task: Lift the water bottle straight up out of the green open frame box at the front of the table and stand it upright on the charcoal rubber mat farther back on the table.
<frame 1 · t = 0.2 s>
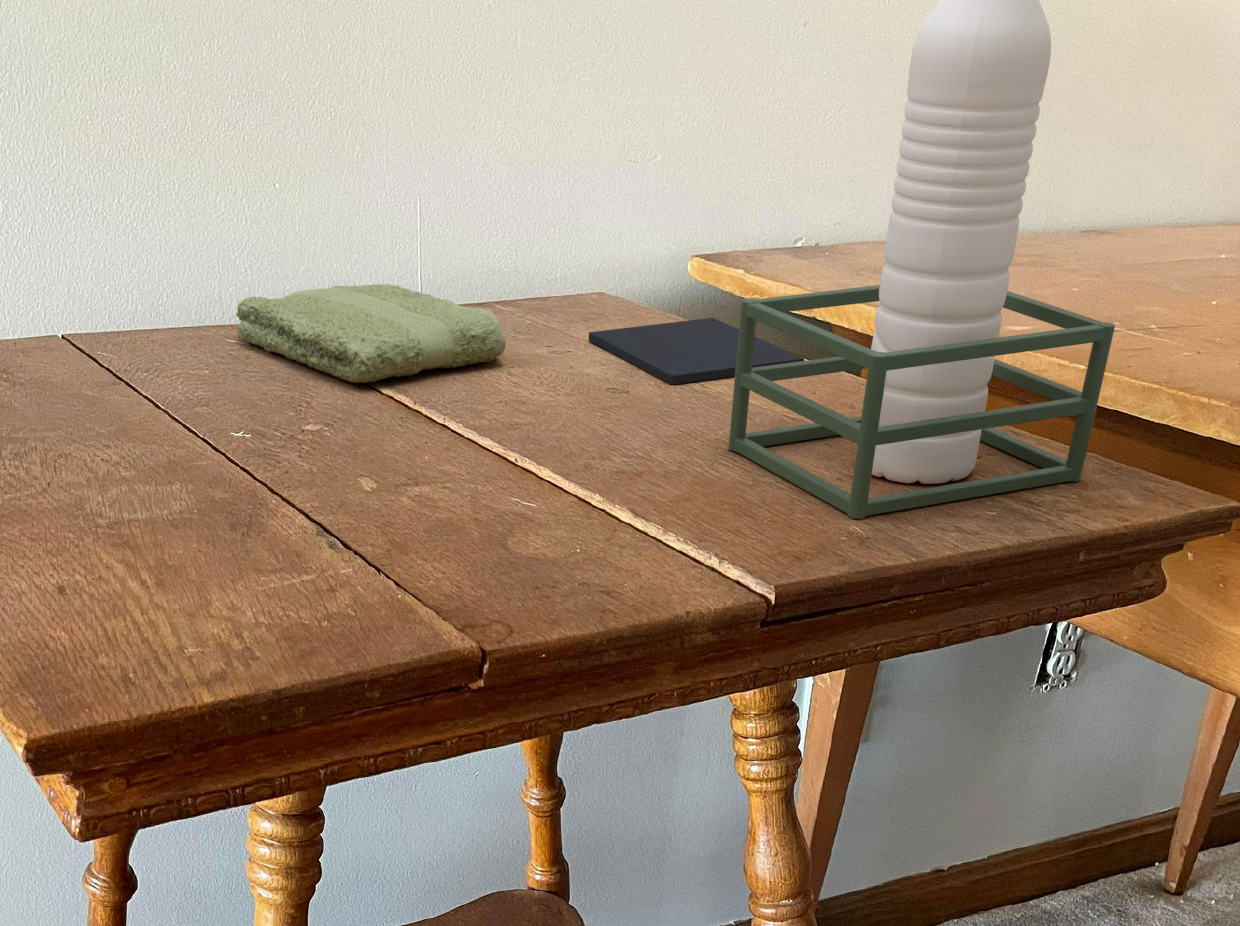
water bottle: (896, 465, 86), resting in green open frame box
washcloth: (367, 353, 105), on the table
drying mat: (693, 353, 104), on the table
green open frame box: (899, 464, 86), on the table
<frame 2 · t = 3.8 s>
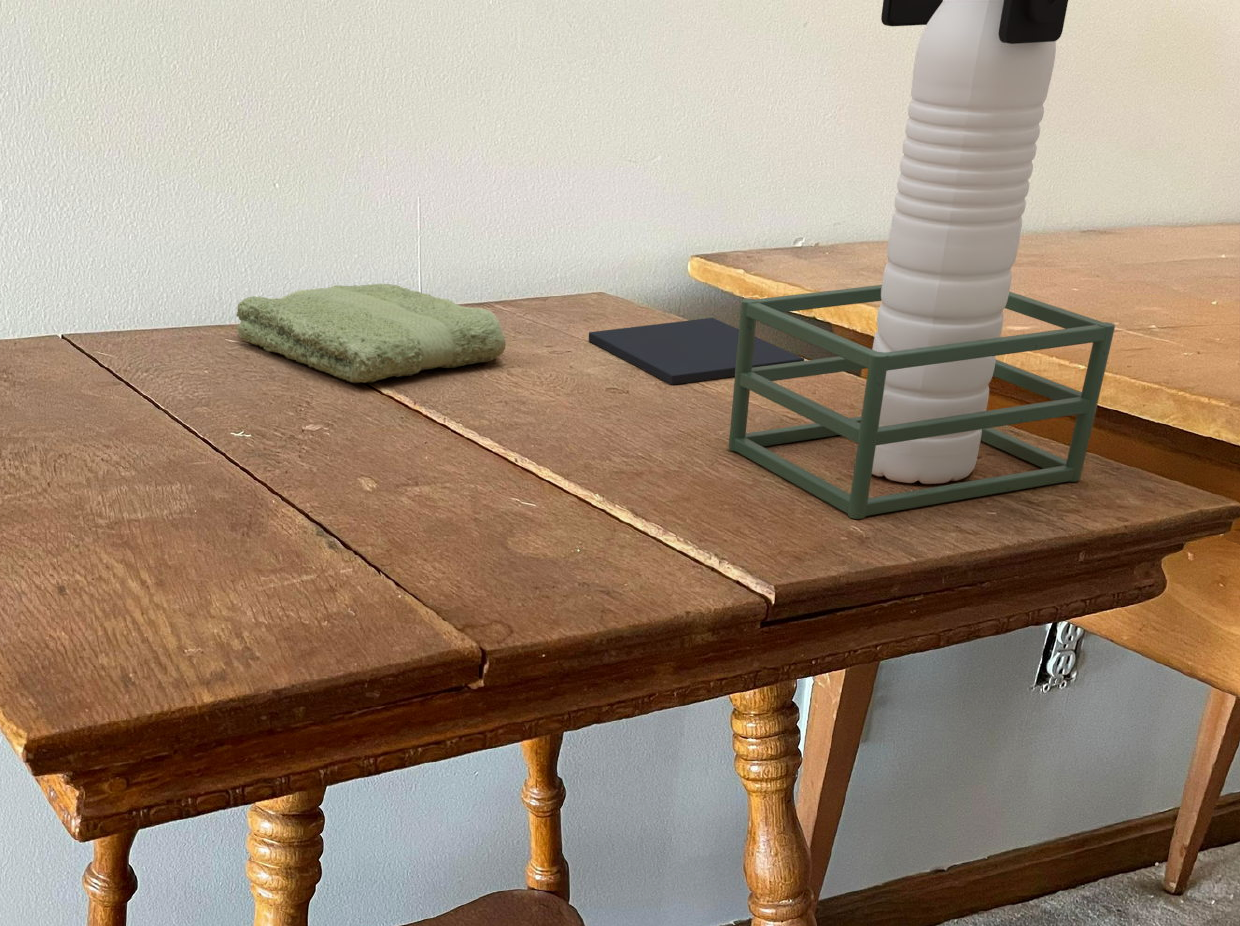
hand: (966, 31, 73), 21 cm above the table, tool pointing down, fingers closed on water bottle, 8 cm apart
water bottle: (897, 464, 86), resting in green open frame box, touching gripper
everything else where it was.
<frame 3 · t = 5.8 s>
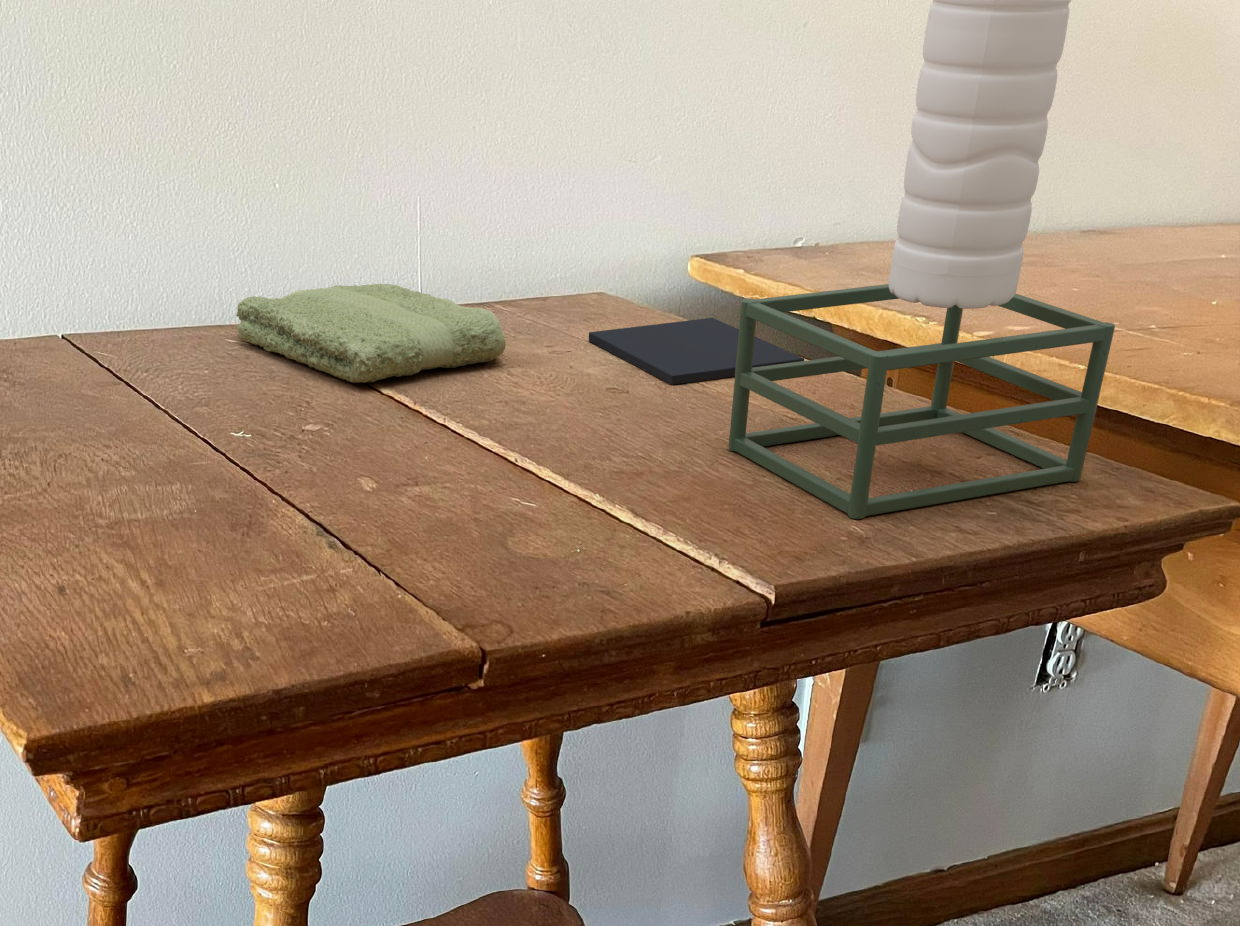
water bottle: (931, 295, 81), point 9 cm above the table, touching gripper
everything else where it was.
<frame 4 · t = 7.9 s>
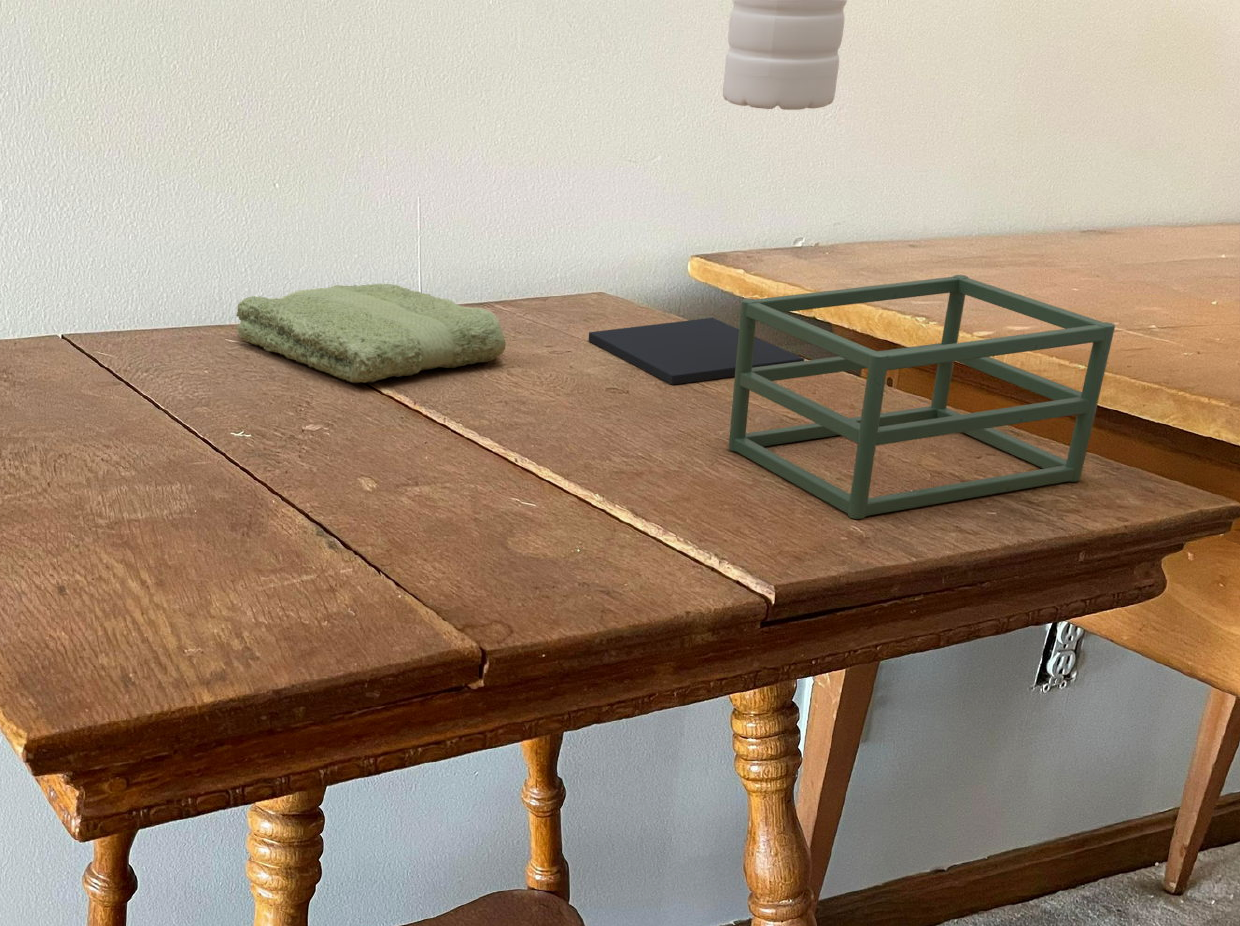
water bottle: (761, 103, 90), point 16 cm above the table, touching gripper
everything else where it was.
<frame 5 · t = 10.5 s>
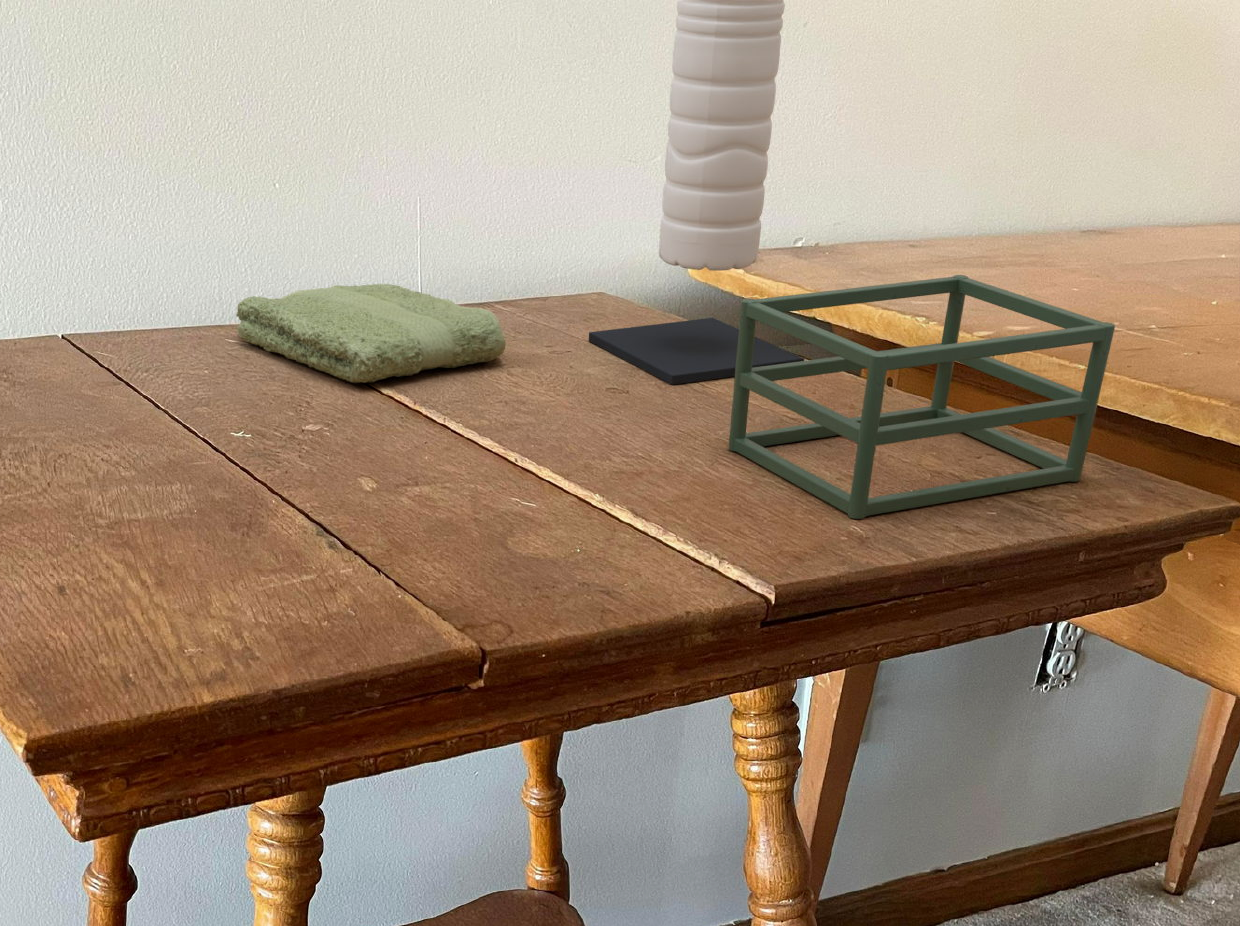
water bottle: (694, 260, 101), point 6 cm above the table, touching gripper
everything else where it was.
when the fingers open (21 cm above the table, at t = 12.5 s): water bottle stays where it is, resting on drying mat.
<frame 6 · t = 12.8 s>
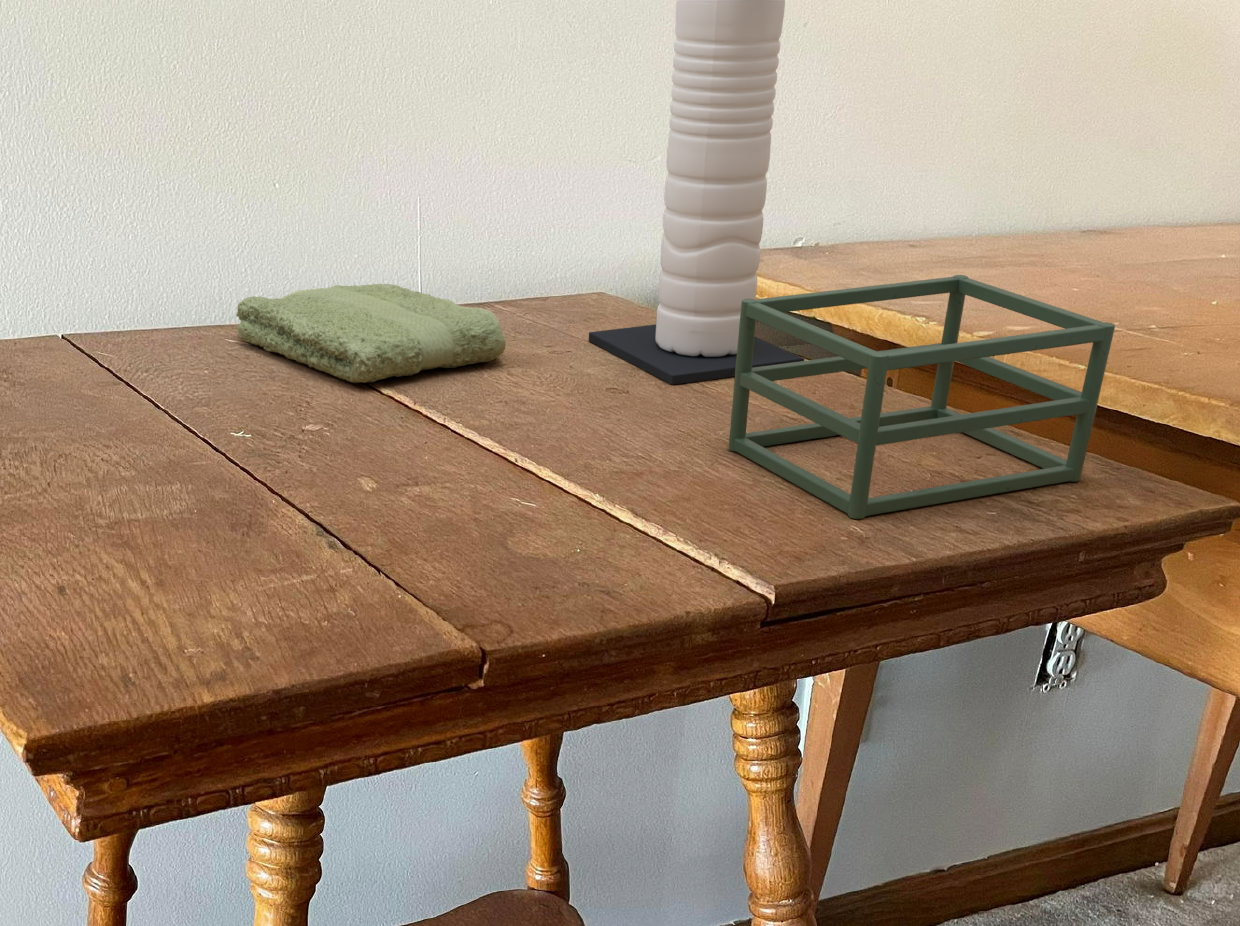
water bottle: (689, 345, 104), resting on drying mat, touching gripper
everything else where it was.
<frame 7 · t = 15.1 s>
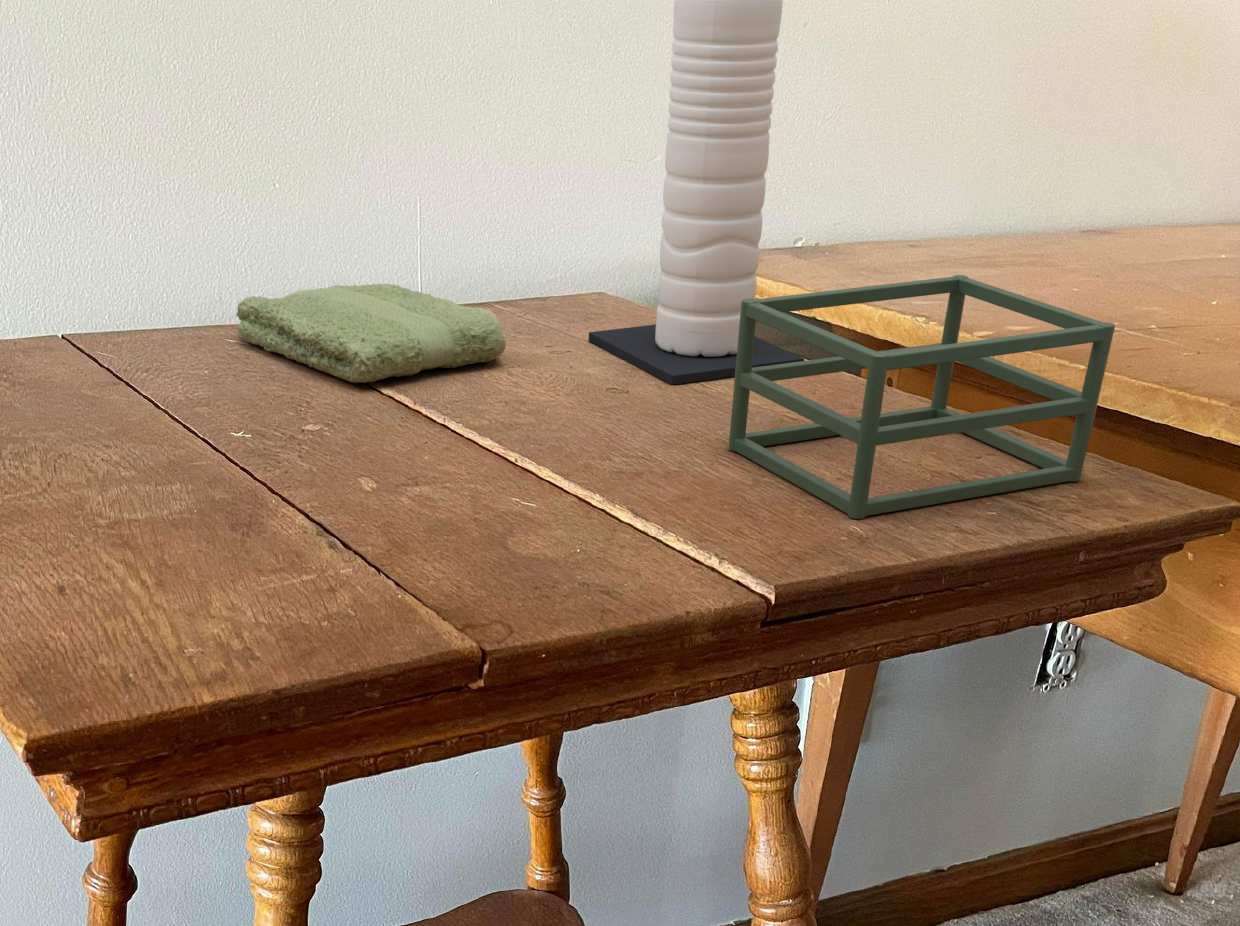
water bottle: (689, 345, 105), resting on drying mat
everything else where it was.
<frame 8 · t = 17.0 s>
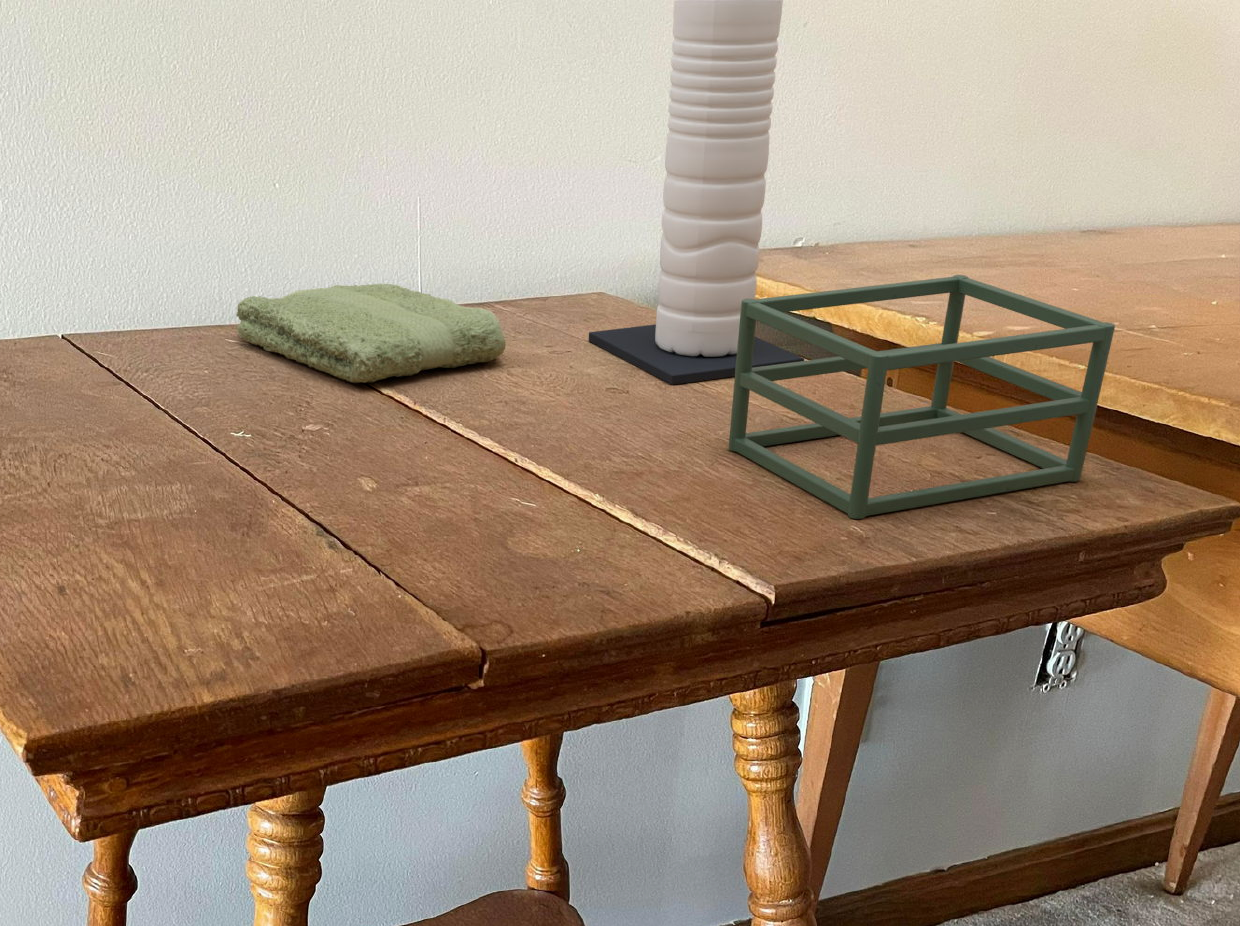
nothing on the table moved.
at the end: water bottle inside the target area on the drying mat (0.5 cm from its centre), point 0.4 cm above the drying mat's base; water bottle tilted 0°; the gripper is holding nothing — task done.
